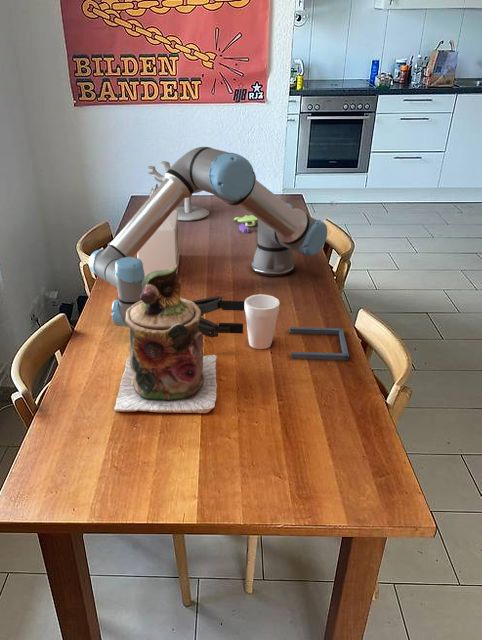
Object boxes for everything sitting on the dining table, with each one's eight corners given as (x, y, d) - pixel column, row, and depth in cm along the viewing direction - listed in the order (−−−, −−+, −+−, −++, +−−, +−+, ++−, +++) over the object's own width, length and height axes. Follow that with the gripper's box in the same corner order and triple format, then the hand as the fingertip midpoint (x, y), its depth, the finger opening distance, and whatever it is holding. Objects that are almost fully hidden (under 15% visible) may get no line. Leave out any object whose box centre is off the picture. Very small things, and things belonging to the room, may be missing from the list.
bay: (291, 358, 157) (291, 353, 156) (289, 331, 170) (289, 326, 169) (348, 360, 156) (349, 355, 155) (342, 332, 169) (342, 328, 168)
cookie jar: (127, 360, 158) (115, 248, 140) (217, 361, 157) (217, 247, 139) (112, 415, 137) (96, 291, 119) (216, 416, 136) (216, 290, 119)
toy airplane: (293, 236, 237) (294, 223, 234) (229, 233, 242) (229, 220, 239) (296, 222, 252) (297, 209, 249) (235, 219, 257) (235, 206, 254)
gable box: (145, 255, 222) (139, 181, 207) (179, 255, 222) (176, 180, 207) (139, 279, 204) (132, 199, 188) (176, 278, 203) (173, 198, 188)
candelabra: (157, 203, 279) (154, 144, 264) (230, 205, 275) (230, 144, 260) (142, 226, 251) (137, 161, 236) (222, 229, 246) (222, 162, 232)
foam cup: (241, 336, 168) (242, 295, 161) (273, 334, 168) (275, 293, 161) (246, 352, 160) (247, 310, 153) (279, 351, 161) (282, 308, 153)
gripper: (174, 306, 174) (245, 308, 173) (161, 348, 154) (241, 351, 152) (173, 283, 170) (245, 285, 168) (160, 323, 150) (242, 326, 148)
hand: (244, 316), depth 160 cm, fingers open, 13 cm apart
